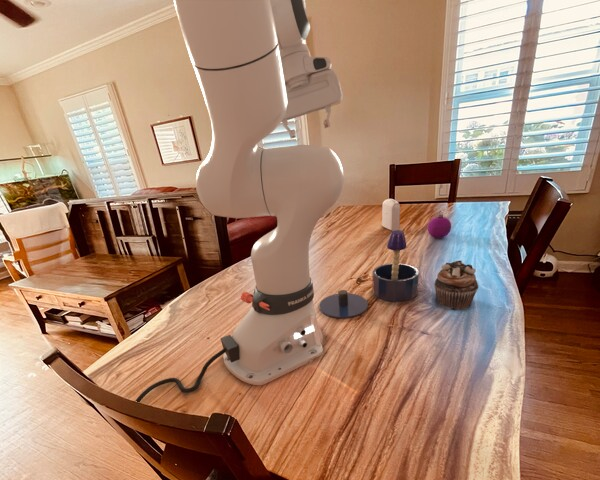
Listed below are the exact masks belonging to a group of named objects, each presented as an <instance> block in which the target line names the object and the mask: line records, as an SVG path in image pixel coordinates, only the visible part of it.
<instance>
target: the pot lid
mask: <svg viewBox="0 0 600 480" xmlns="http://www.w3.org/2000/svg"><path fill="white" fill-rule="evenodd" d="M318 307H319V311H320V312H321V313H322V314H323V315H325V316H326V317H329V318H333V319H339V320H340V319H341V320H343V319H352V318H357V317H359V316H361V315H363V314H364V313H366V311H368V308H369V302H368V300H367V299H366V298H365V297H363V296H361V295H359V294H357V293H350V292H349V291H347V290H346V289H341V290H338V292H337V293H335V294H330V295H328V296H326V297H324V298H323V299H321V301H320V303H319V305H318Z"/></svg>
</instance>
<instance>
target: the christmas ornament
mask: <svg viewBox="0 0 600 480" xmlns="http://www.w3.org/2000/svg"><path fill="white" fill-rule="evenodd" d="M451 231H452V223H451V221H450V219H449V218H448V217H445V216H444V213H441V211H439V212H438V214H437V216H435V217H433V218H432V219H430V221H429V222H428V223H427V233H428V234H429V236H430V237H432V238H434V239H443V238H445V237H446V236H448V235H449V234H450V232H451Z"/></svg>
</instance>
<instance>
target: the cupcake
mask: <svg viewBox="0 0 600 480" xmlns="http://www.w3.org/2000/svg"><path fill="white" fill-rule="evenodd" d="M476 271H477V270H476V268H474V267H473V265H472V264H470V263H469V264H465V263H464V262H463V261H462V260H456V261H455V260H454V261H452V262H446V263H444V264H442V265H441V269H440V270H439V272H438V273H437V275H436V279H435V281H434V291H435V299H436V302H437V303H438V304H440V305H442V306H444V307H448V308H450V309H451V310H453V311H459V310H461V311H462V310H466V309H468V308H469V307H471V305H472V304H473V300H474V299H475V296H476V293H477V291H478V290H479V287H480V286H479V283H478V281H477V276H476V275H475V273H476Z"/></svg>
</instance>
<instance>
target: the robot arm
mask: <svg viewBox="0 0 600 480" xmlns="http://www.w3.org/2000/svg"><path fill="white" fill-rule="evenodd" d="M173 4H174V8H175V12H176V17H177V19H178V24H179V27H180V30H181V34H182V37H183V41H184V43H185V47H186V50H187V53H188V55H189V58H190V61H191V63H192V64H191V65H192V67H193V69H194V72H195V75H196V78H197V81H198V83H199V86H200V89H201V92H202V95H203V99H204V102H205V106H206V108H207V112H208V115H209V119H210V123H211V131H212V134H211V135H212V139H211V145H210V149H209V152H208V154H207V155H206V157H205V159H204V160H203V161H202V162H201V163H200V165H199V168H198V170H197V172H196V177H195V189H196V195H197V197H198V200H199V201H200V203H201V205H202V206H203V207H204V209H205V210H206V211H207V212H208V213H209V214H210V215H212V216H217V217H221V218H231V219H247V218H258V217H270V216H272V217H275V218H276V221H277V225H276V227H275V228H274V229H272V230H271V231H269V232H267V233H266V234H264V235H263V236H262V237H260V238H259V239H257V241H255V242H254V244H253V246H252V248H251V252H250V260H251V265H252V271H253V275H254V280H255V285H254V290H253V291H254V292H253V294H252V293H249V292H248V291H243V292H241V295H240V299H241V301H242V302H244V303H246V304H251V307H250V308H249V310H248V311H247V312H246V313H245V315H244V316H243V318H242V319H241V320H240V322H239V323H238V324H237V325H236V326H235V328H234V330H233V331H232V333H231V334H228V335H226V336H222V337H220V341H221V345H222V346H221V347H222V349H221V350H219V351H218V352H217V353H216V354H214V355H213V356H211V357H210V358H209V359H208V360H207V361H206V362H205V363H204V365H203V367H202V369H201V371H200V373H199V374H198V376H197V378H196V380H195V382H194V384H193V386H191V387H187V388H186V387H185V386H184V385H183V383H182V381H181V380H180V379H179V378H177V377H169V378H164V379H161V380H160V381H157V382H155V383H153V384H151V385H150V386H148V387H147V388H146V389H144V390H143V391H142V392H141V393H140V394H139V396H138V397H137V398H136V399H135V401H137V402H139V403H141V401H143V399H144V398H145V397H146V396H147V395H148V394H149V393H151V391H153V390H154V389H157V388H158V387H160V386H162V385H165V384H168V383H175V384H176V385H177V388H178V389H179V391H181V392H182V393H184V394H189V393H192V392H194V391H196V390H197V389H198V387H199V385H200V384H201V381H202V379H203V378H204V376H205V374H206V372H207V369H208V368H209V367H210V366H211V364H212V363H214V362H215V361H216V360H218V359H219V358H220V357H221V356H222V355H223V357H222V358H223V363H224V366H225V368H226V369H227V370H228V371H229V372H230V374H232V375H233V376H234V377H235V378H237V379H238V380H240V381H242V382H244V383H246V384H248V385H253V386H264V385H266V384H268V383H270V382H272V381H274V380H276V379H278V378H281V377H282V376H285V375H286V374H289V373H291V372H293V371H294V370H297V369H298V368H301V367H303V366H305V365H307V364H309V363H310V361H312V360H314V359H316V358H318V357H320V356H322V355H323V354H324V348H323V345H322V343H323V339H324V335H323V331H322V329H321V327H320V325H319V321H318V318H317V314H316V311H315V305H314V298H315V292H314V291H315V290H314V285H313V279H312V278H311V276H310V275H311V274H310V242H311V237H312V234H313V232H314V230H315V228H316V225H317V224H318V222H319V220H320V219H321V218H322V216H323V215H324V214H325V213H326V212H327V211H329V209H331V208H332V207H333V206H334V205H335V203H336V202H337V201H338V200H339V198H340V196H341V194H342V191H343V188H344V180H345V175H344V169H343V165H342V162H341V160H340V158H339V157H338V155H337V154H336V152H334V151H333V150H332V148H330V147H328V146H320V145H312V144H311V145H310V144H296V145H288V146H287V145H286V146H279V147H269V148H261V147H260V146H259V145H258V144H259V143H260V142H261V141H262V140H264V139H266V137H268V136H269V135H270V134H272V133H273V132H274V131H275V130H276V129H277V128H278V127H279V126H280V125H281V123H282V127H283V128H284V129H285V130H286V131H287V132H288V133H289V138H290V139H294V138H296V137H297V135H296V132H295V129H291V128H290V127H289V126H288V125H289V122H288V121H289V120H293V119H295V118H299V117H302V116H305V115H309V114H311V113H314V112H315V113H316V112H318V111H321V110H324V112H325V114H326V117H325V119H323V120H322V125H323V128H324V129H327V128H331V124H330V115H331V112H332V107H334V106H337V105H340V104H341V102H342V100H343V90H342V86H341V82H340V80H339V77H338V75H337V72H336V71H334V70H333V69H332V61H331V58H330V57H327V56H312V55H311V51H310V49H309V47H308V44H307V38H308V35H309V33H310V30H311V25H310V21H309V18H308V12H307V5H306V0H173Z"/></svg>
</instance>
